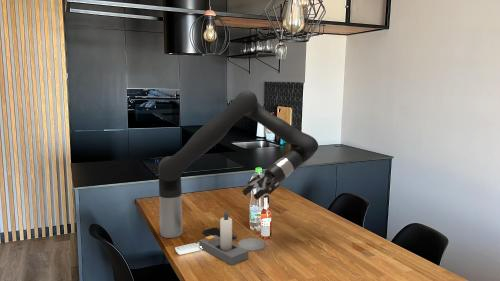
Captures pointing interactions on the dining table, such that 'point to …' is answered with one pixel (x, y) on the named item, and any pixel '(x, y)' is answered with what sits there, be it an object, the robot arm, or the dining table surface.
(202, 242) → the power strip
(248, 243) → the pad
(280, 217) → the dining table surface
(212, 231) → the phone
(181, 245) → the dining table surface
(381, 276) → the dining table surface
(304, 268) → the dining table surface
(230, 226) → the white and grey cylinder
